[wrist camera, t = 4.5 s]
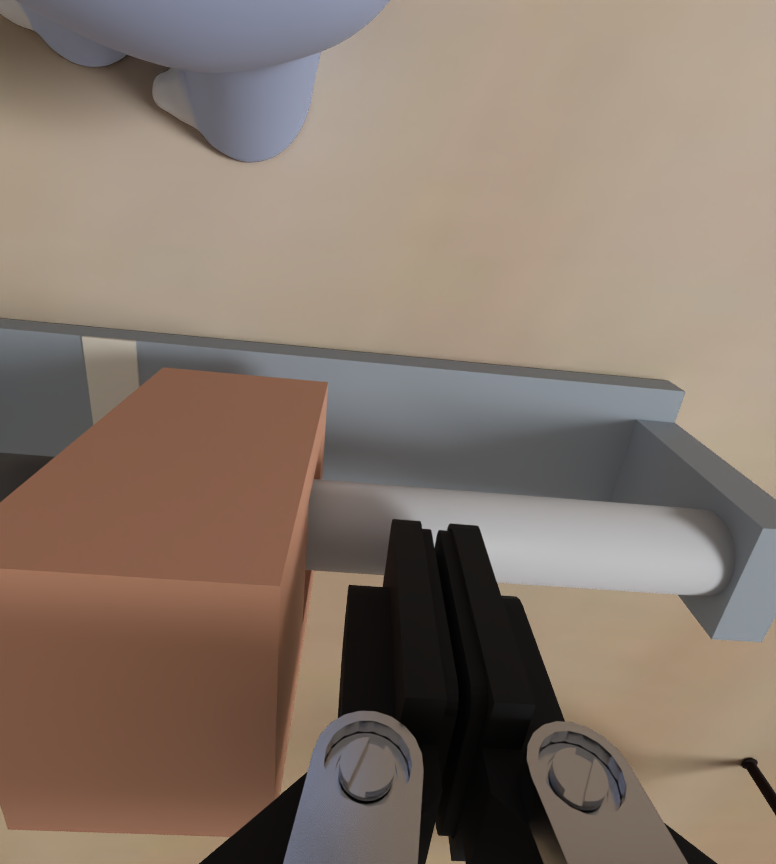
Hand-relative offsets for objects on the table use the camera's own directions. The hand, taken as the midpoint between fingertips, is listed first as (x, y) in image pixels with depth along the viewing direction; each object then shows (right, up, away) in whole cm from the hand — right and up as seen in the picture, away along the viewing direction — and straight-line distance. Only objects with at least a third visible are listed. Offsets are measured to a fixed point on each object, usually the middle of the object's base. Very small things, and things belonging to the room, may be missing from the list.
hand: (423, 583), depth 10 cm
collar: (-4, +2, +4) cm, 6 cm away
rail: (-4, +3, +6) cm, 8 cm away
